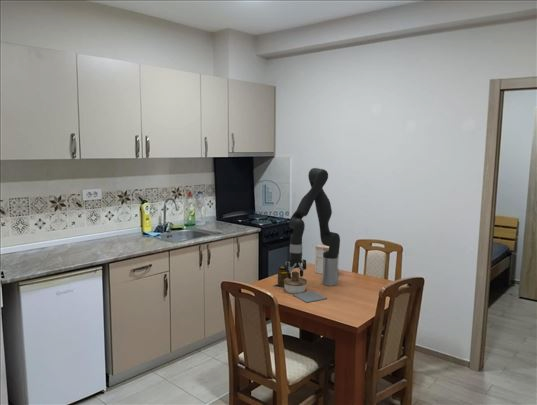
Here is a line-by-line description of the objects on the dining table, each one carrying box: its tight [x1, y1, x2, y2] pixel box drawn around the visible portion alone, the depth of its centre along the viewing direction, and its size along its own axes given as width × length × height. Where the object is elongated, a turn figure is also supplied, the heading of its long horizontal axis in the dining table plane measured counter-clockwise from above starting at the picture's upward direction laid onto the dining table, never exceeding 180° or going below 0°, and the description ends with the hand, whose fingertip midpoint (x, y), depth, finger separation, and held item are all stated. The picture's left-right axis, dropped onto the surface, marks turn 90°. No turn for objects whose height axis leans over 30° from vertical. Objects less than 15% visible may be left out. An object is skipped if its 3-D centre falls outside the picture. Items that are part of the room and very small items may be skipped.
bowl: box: [283, 284, 307, 295], centre depth 255 cm, size 12×12×5 cm
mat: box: [292, 290, 328, 304], centre depth 244 cm, size 14×14×1 cm
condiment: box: [272, 265, 288, 289], centre depth 262 cm, size 7×8×12 cm
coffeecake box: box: [314, 243, 340, 275], centre depth 290 cm, size 15×7×20 cm, turn 52°
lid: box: [284, 271, 308, 286], centre depth 254 cm, size 14×14×6 cm
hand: (295, 277), depth 254 cm, fingers open, 8 cm apart
